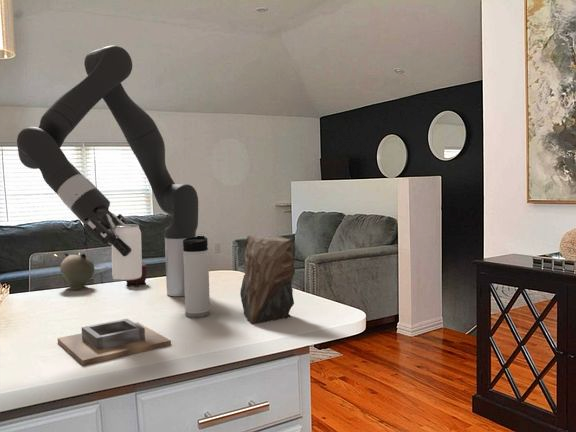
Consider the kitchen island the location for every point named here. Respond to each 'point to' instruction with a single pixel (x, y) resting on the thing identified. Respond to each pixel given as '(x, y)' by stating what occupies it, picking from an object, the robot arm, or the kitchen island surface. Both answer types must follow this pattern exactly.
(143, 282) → the mate gourd
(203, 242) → the travel mug
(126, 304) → the kitchen island surface
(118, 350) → the mount
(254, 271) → the brown rock
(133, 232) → the can
